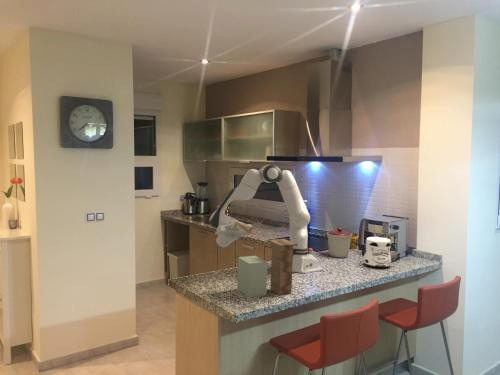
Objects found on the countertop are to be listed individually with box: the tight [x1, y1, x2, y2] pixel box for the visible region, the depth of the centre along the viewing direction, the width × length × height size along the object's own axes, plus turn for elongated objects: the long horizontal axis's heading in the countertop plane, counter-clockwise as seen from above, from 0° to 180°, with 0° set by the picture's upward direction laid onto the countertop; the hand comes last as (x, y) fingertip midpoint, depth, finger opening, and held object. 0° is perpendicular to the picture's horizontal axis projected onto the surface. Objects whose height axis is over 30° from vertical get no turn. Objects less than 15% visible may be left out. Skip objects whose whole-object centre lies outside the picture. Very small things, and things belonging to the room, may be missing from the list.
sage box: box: [236, 255, 268, 298], centre depth 216 cm, size 10×14×17 cm
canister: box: [326, 226, 352, 259], centre depth 303 cm, size 18×18×21 cm
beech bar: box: [234, 220, 255, 235], centre depth 226 cm, size 3×20×4 cm, turn 25°
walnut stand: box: [267, 238, 297, 296], centre depth 219 cm, size 10×14×26 cm
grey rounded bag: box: [390, 251, 401, 262], centre depth 300 cm, size 15×8×20 cm
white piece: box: [363, 236, 392, 269], centre depth 278 cm, size 17×17×18 cm
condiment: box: [349, 232, 359, 250], centre depth 331 cm, size 7×8×12 cm
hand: (239, 224), depth 231 cm, fingers closed on beech bar, 3 cm apart
